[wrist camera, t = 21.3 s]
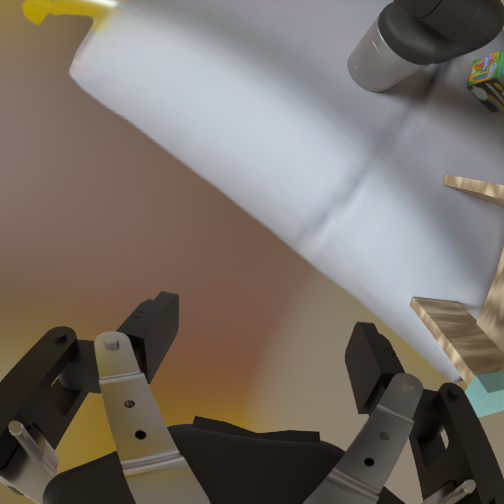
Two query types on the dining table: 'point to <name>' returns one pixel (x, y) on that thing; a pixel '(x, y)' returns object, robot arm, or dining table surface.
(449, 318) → the wooden stand
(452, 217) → the dining table surface
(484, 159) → the dining table surface
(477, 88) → the chalk box
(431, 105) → the dining table surface
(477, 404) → the bar
